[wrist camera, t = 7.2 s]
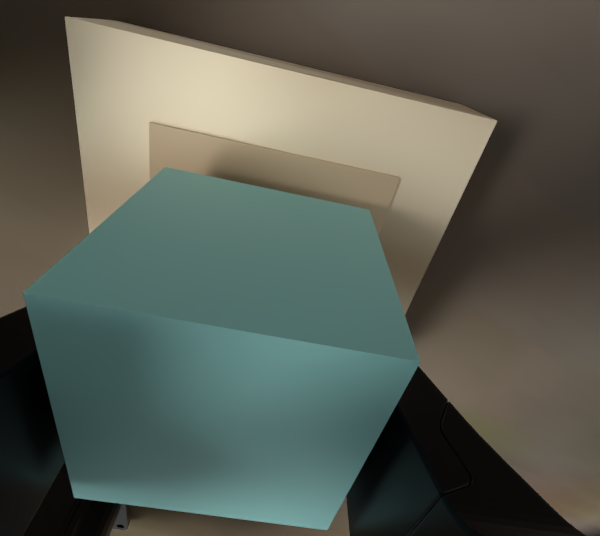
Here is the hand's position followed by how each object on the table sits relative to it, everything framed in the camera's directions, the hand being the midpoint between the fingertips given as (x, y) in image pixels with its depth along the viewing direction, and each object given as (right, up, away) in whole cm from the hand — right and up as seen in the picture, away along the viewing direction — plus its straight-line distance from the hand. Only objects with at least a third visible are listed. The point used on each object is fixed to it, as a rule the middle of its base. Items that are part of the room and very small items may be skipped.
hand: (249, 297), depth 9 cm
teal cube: (0, +1, +1) cm, 1 cm away
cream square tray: (0, +2, +4) cm, 4 cm away
